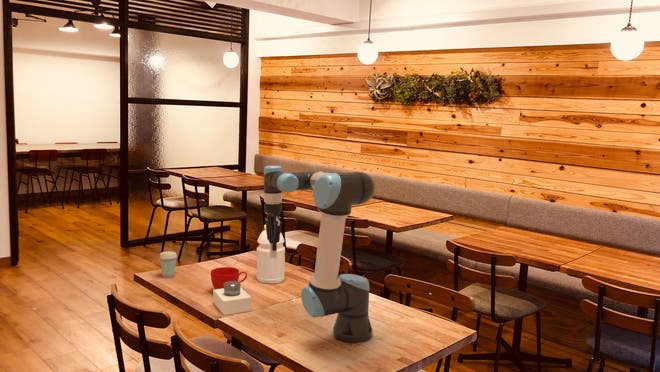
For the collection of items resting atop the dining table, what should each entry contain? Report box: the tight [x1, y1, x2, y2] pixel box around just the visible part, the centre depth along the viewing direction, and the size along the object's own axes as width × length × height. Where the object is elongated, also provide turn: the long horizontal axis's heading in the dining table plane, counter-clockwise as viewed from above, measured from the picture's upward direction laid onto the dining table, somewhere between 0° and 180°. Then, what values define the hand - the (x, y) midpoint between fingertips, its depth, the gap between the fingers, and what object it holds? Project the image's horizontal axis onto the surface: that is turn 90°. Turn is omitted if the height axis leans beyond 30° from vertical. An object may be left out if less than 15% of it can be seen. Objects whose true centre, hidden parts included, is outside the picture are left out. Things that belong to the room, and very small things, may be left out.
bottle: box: [255, 223, 286, 285], centre depth 286 cm, size 14×14×28 cm
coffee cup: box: [158, 251, 178, 279], centre depth 289 cm, size 8×8×12 cm
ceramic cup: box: [210, 266, 248, 290], centre depth 268 cm, size 13×17×10 cm
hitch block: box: [212, 286, 252, 316], centre depth 248 cm, size 16×12×6 cm
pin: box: [224, 281, 241, 296], centre depth 248 cm, size 7×7×10 cm
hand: (273, 257), depth 245 cm, fingers closed
